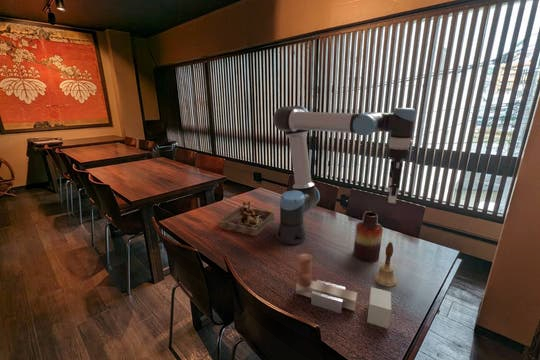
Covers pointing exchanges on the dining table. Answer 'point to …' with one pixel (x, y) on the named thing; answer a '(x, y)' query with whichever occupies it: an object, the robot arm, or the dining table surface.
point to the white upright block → (379, 307)
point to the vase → (368, 238)
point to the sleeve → (327, 299)
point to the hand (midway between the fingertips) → (390, 196)
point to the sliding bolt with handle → (320, 284)
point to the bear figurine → (248, 216)
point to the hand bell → (386, 270)
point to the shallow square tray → (249, 230)
